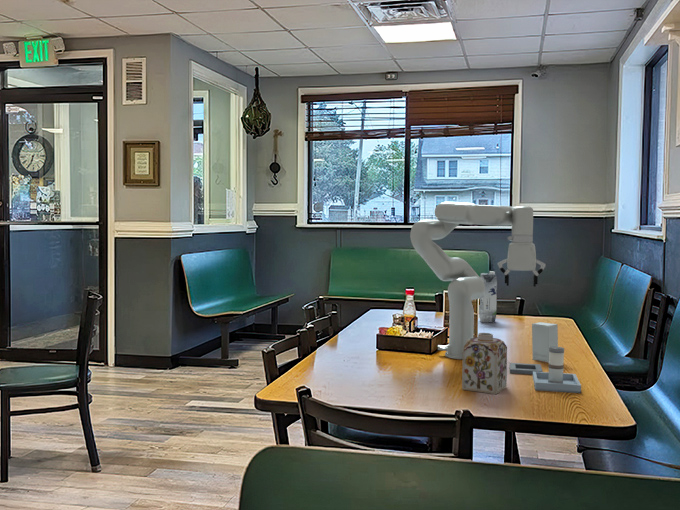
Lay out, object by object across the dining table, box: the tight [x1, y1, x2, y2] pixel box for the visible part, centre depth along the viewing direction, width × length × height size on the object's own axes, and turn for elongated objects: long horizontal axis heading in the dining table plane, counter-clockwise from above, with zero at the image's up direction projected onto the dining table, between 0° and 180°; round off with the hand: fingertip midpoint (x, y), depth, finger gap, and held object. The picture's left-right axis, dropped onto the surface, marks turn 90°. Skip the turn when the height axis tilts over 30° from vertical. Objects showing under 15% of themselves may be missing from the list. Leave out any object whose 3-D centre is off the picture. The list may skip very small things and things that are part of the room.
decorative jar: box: [461, 332, 508, 395], centre depth 215 cm, size 12×12×18 cm
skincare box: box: [531, 321, 559, 364], centre depth 257 cm, size 8×6×15 cm
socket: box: [509, 362, 544, 376], centre depth 240 cm, size 11×14×2 cm
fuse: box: [548, 346, 565, 384], centre depth 220 cm, size 5×5×12 cm
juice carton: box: [478, 270, 498, 323], centre depth 354 cm, size 9×10×27 cm
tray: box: [532, 371, 582, 394], centre depth 220 cm, size 14×16×2 cm
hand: (520, 285), depth 246 cm, fingers open, 9 cm apart
